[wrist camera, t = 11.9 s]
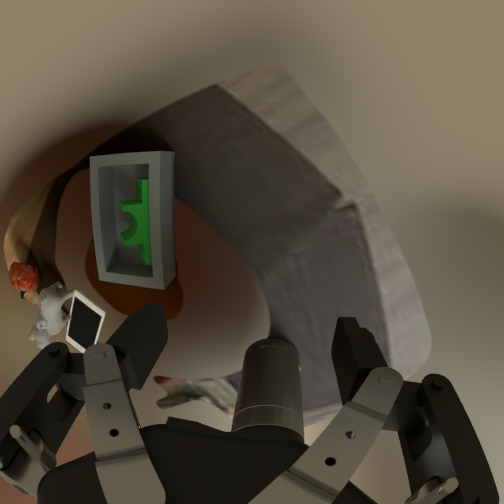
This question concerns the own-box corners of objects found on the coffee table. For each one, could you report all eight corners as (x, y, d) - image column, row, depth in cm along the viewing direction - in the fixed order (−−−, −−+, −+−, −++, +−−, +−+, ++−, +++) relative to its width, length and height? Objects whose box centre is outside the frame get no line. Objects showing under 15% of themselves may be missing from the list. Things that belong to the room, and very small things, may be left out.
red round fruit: (28, 255, 45) (20, 299, 42) (9, 244, 38) (-1, 292, 35) (50, 258, 46) (41, 304, 42) (30, 246, 39) (20, 297, 36)
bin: (176, 275, 40) (164, 289, 35) (115, 267, 41) (99, 280, 36) (175, 151, 34) (160, 151, 30) (109, 155, 35) (90, 156, 30)
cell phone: (66, 338, 49) (65, 339, 48) (76, 287, 44) (74, 289, 43) (92, 358, 50) (91, 360, 49) (106, 311, 45) (105, 312, 44)
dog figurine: (55, 320, 47) (27, 346, 37) (56, 274, 43) (21, 298, 33) (72, 333, 48) (45, 361, 38) (75, 287, 43) (40, 314, 33)
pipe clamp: (117, 179, 33) (121, 180, 29) (143, 177, 35) (150, 178, 31) (122, 257, 36) (127, 268, 33) (146, 254, 38) (154, 264, 35)
